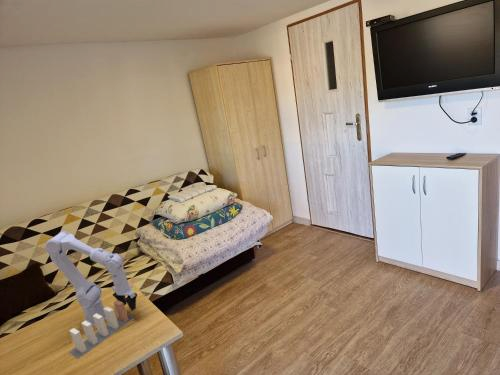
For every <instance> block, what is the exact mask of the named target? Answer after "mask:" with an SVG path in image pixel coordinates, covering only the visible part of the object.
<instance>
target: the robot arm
mask: <svg viewBox="0 0 500 375" xmlns="http://www.w3.org/2000/svg"><path fill="white" fill-rule="evenodd" d="M44 249H45V251H46V252H47V253H48V255H49V257H50V259H51V261H52V263H54V264H55V266H56V267H57V269H58V270H59V271H60V272H61V273H62V274H63V276H64V277H65V278H66V279H67V280H68V282H69V283H70V284H71V286H72V287H74V289H75V290H76V291H75V298H76V299H77V301H78V305H80V307H82V311H83V314H84V316H85V317H84V318H85V319H84V321H87V322H89V323H91V324H92V327H96V324H95V321H94V319H93V315H95V314H96V313H97V314H99V315H101V316H103V319H104V321H105V320H107V318H106V315H105V313H104V310H103V309H104V308H105V307H104V305H103V301H102V288H101V287H100V286H99V285H97V284H96V283H95V282H94V281H88V280H87V278H85V276H84V275H83V274H82V273H81V271H80V270H79V269H78V268H77V267H76V265H75V264H74V263H73V261H72V260H71V259H70V258H69V256H68V255H67V251H69V250H72V251H73V250H74V251H75V252H78V253H81V254H83V255H85V256H89V259H90V260H91V261H92V262H95V263H97V264H99V265H102V266H103V267H104V268H105V270H106V272H108V273H109V275H110V277H111V279H112V282H113V285H114V286H113V287H112V290H113V292H114V293H112V296H113V297H114V298H115V300H118V301H121V302H123V303H124V306H126V305H128V307H129V310H130V311H134V310H135V309H137V297H138V294H137V292H135V291H134V290H132V288H133V286H132V285H131V284H129V280H128V278H127V275H126V271H125V268H124V265H123V263H124V257H123V255H121V254H120V253H117V252H116V253H112V252H111V253H110V252H108V251H107V250H104V248H102V247H95V248H93V247H92V246H90V245H88V244H87V243H84V242H83V241H81V240H79V239H77V238H76V237H75V236H74V234H72V233H69V232H68V231H65V230H63V231H60V232H58V234H56V235H55V236H53V237H52V238H51V239H49V240H47V241H46V243H45V247H44Z"/></svg>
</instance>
